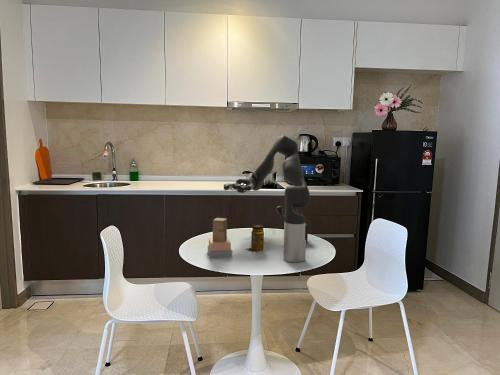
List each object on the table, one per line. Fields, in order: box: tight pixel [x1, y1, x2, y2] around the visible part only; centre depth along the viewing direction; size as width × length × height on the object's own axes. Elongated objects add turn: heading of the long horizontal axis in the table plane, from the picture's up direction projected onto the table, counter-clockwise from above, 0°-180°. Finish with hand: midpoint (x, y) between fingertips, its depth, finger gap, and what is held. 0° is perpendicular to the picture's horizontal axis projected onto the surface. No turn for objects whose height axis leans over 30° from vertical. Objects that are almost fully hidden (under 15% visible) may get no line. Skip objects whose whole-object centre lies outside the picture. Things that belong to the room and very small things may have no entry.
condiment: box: [244, 224, 267, 254], centre depth 184 cm, size 7×8×12 cm
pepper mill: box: [275, 205, 309, 244], centre depth 202 cm, size 16×11×18 cm
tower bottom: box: [207, 244, 233, 259], centre depth 178 cm, size 10×10×4 cm
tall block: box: [212, 217, 228, 242], centre depth 176 cm, size 5×5×10 cm
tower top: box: [208, 236, 232, 251], centre depth 177 cm, size 9×9×4 cm
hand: (233, 188), depth 190 cm, fingers open, 8 cm apart
